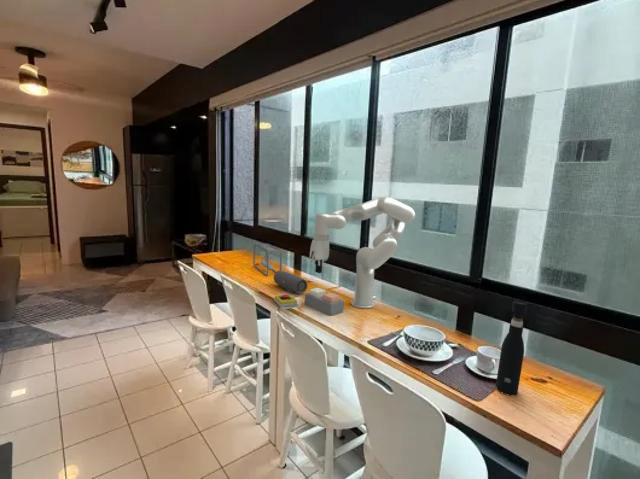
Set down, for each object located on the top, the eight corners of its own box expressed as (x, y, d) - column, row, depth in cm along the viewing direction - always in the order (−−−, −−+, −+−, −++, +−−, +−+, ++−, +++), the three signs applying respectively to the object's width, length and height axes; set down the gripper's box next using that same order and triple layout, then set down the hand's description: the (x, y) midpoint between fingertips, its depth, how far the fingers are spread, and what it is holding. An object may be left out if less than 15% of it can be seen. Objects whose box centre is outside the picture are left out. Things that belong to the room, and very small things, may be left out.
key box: (317, 301, 188) (317, 290, 187) (343, 312, 175) (344, 300, 174) (304, 304, 182) (305, 293, 181) (330, 316, 168) (331, 304, 167)
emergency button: (289, 291, 190) (299, 300, 177) (289, 299, 191) (299, 308, 177) (273, 292, 186) (282, 301, 173) (273, 300, 187) (282, 310, 174)
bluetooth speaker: (272, 286, 211) (273, 270, 209) (284, 284, 217) (285, 268, 216) (294, 296, 194) (295, 279, 193) (307, 294, 200) (308, 277, 199)
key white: (317, 296, 185) (318, 287, 185) (325, 299, 181) (325, 290, 181) (309, 298, 181) (309, 289, 181) (317, 301, 177) (317, 292, 176)
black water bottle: (510, 384, 117) (523, 299, 112) (521, 396, 110) (536, 306, 106) (491, 384, 117) (504, 298, 112) (502, 395, 110) (516, 305, 106)
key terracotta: (330, 301, 178) (331, 292, 178) (339, 305, 174) (339, 295, 173) (322, 304, 174) (323, 294, 174) (330, 307, 170) (331, 297, 169)
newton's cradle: (252, 266, 257) (253, 243, 255) (266, 265, 262) (267, 242, 260) (266, 276, 231) (267, 250, 229) (281, 275, 236) (282, 250, 234)
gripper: (326, 235, 184) (323, 269, 187) (305, 237, 174) (302, 272, 176) (336, 238, 179) (333, 272, 182) (315, 239, 168) (312, 275, 171)
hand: (318, 272), depth 179 cm, fingers closed
